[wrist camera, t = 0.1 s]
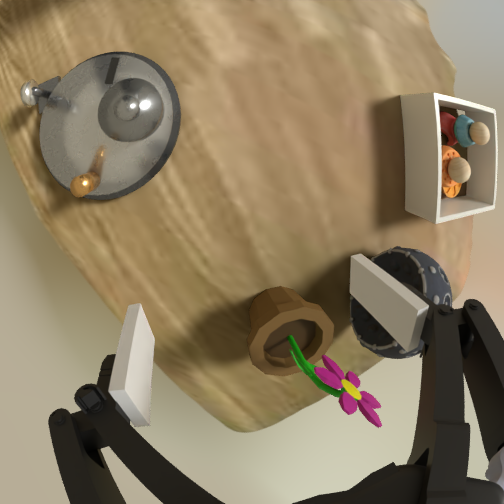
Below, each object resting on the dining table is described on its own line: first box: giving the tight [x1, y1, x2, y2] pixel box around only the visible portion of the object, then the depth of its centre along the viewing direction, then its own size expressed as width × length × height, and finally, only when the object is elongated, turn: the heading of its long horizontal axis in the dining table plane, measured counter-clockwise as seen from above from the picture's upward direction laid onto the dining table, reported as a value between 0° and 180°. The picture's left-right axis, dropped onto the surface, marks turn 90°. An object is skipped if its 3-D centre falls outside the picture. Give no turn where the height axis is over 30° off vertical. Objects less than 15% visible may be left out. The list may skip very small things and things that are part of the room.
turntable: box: [40, 54, 173, 197], centre depth 29 cm, size 20×20×6 cm
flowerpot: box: [247, 286, 382, 427], centre depth 38 cm, size 14×14×30 cm
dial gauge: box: [21, 76, 61, 114], centre depth 26 cm, size 5×4×8 cm
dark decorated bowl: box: [349, 246, 452, 359], centre depth 45 cm, size 11×20×20 cm, turn 156°
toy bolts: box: [439, 111, 490, 198], centre depth 42 cm, size 18×17×12 cm
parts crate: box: [400, 93, 498, 224], centre depth 43 cm, size 23×24×9 cm
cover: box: [98, 78, 165, 142], centre depth 28 cm, size 8×8×6 cm
